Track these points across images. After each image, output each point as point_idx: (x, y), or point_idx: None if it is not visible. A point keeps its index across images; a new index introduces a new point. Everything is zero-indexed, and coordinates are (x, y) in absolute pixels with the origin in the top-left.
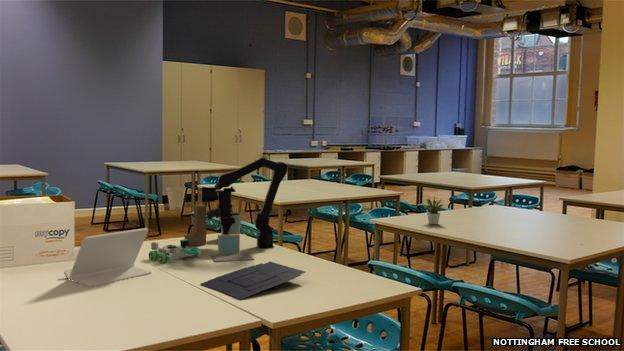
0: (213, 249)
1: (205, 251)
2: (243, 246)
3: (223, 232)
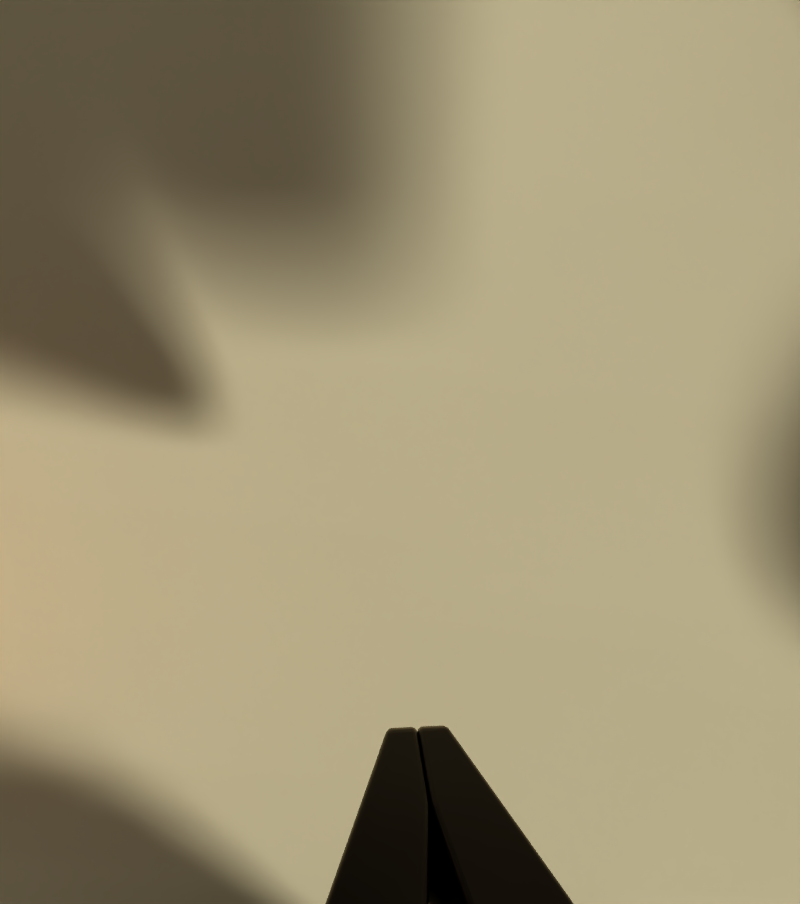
0: (295, 294)
1: (64, 29)
2: None
3: (343, 864)
